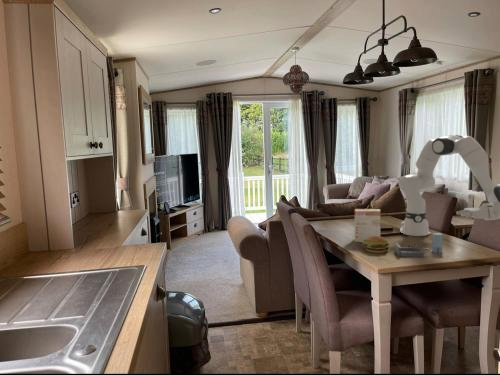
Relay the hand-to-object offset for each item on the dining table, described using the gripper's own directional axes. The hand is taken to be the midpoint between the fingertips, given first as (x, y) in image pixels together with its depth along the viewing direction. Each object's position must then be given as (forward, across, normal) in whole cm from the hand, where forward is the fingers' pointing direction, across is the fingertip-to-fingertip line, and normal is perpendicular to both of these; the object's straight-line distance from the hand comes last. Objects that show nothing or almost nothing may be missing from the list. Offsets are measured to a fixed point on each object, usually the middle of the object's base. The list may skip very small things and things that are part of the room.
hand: (458, 213), depth 207 cm
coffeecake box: (+48, -18, +14) cm, 54 cm away
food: (+44, +2, +17) cm, 47 cm away
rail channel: (+27, +6, +19) cm, 33 cm away
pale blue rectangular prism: (+12, -1, +20) cm, 23 cm away
